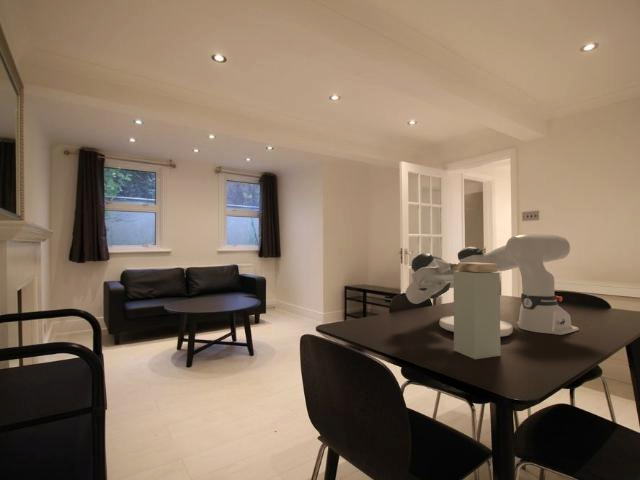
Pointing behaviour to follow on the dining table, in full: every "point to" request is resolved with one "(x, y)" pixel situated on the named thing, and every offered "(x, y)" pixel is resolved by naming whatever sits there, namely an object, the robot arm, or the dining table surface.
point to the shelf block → (477, 313)
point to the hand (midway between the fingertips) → (454, 264)
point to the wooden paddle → (475, 267)
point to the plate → (448, 324)
